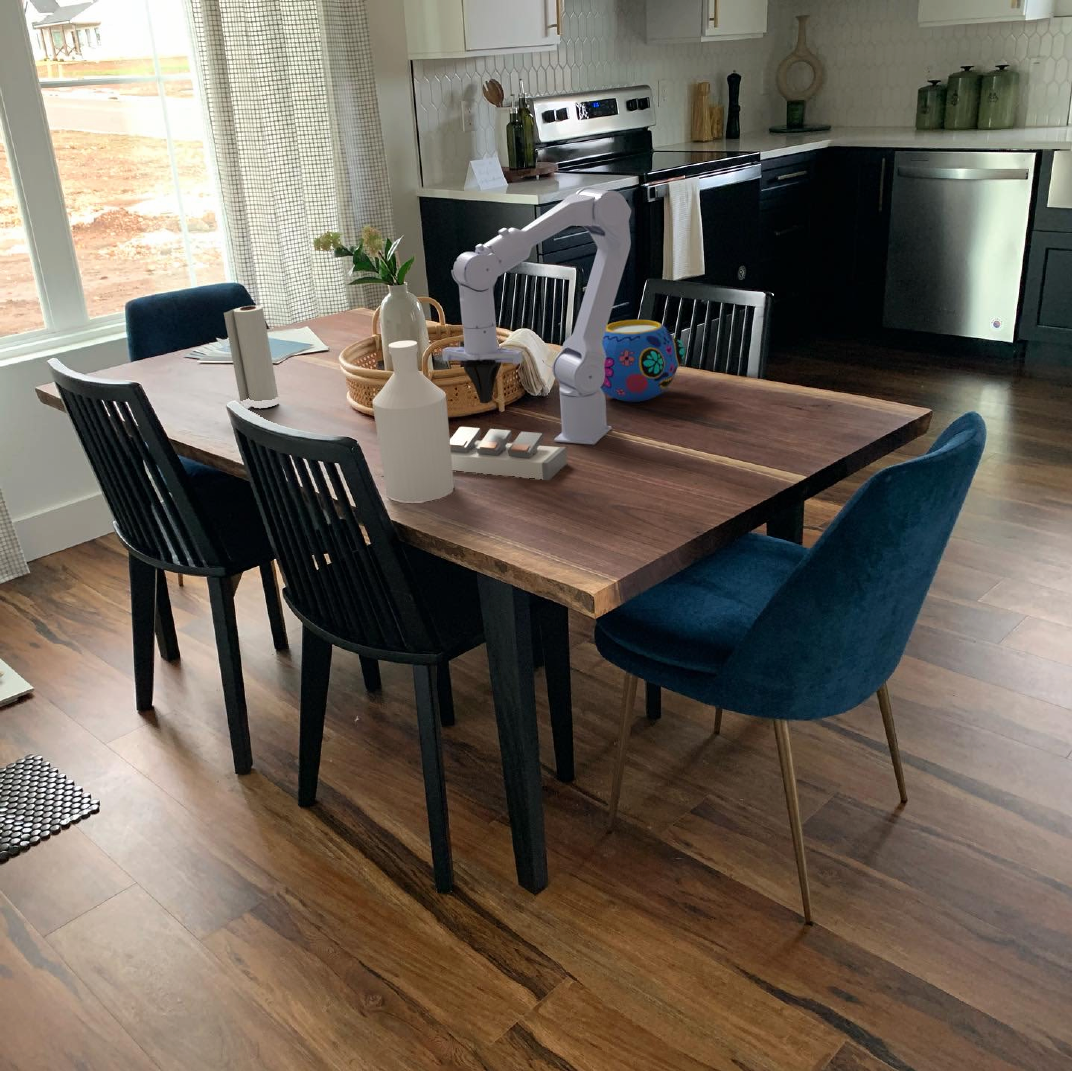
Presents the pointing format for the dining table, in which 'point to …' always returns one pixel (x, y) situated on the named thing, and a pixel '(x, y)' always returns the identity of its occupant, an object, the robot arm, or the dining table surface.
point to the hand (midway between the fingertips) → (486, 401)
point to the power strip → (512, 462)
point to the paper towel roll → (251, 353)
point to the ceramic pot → (639, 359)
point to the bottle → (413, 430)
